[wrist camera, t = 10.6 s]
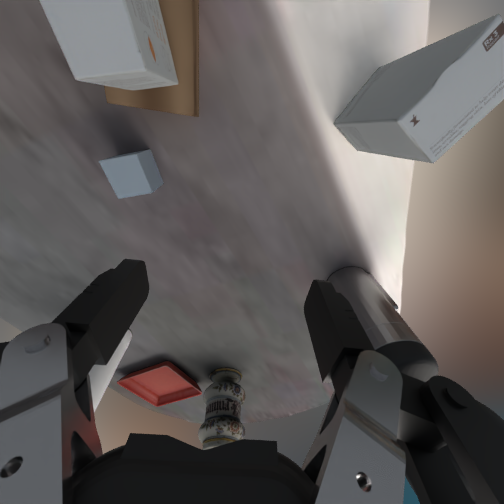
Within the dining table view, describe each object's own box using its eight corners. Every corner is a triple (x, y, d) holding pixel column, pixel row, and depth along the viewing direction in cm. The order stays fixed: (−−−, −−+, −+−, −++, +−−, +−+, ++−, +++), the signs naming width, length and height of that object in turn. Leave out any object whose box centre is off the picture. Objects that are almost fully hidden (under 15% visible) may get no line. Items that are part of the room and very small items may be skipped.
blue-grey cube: (150, 149, 31) (136, 154, 26) (163, 183, 33) (152, 192, 29) (118, 155, 31) (98, 161, 27) (133, 188, 34) (118, 198, 29)
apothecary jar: (219, 361, 61) (211, 441, 46) (252, 372, 65) (256, 450, 50) (199, 379, 66) (186, 457, 51) (231, 389, 70) (228, 464, 55)
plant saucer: (120, 371, 62) (114, 383, 60) (169, 354, 59) (165, 366, 56) (160, 396, 71) (156, 407, 69) (205, 382, 68) (203, 393, 65)
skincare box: (355, 150, 32) (429, 171, 19) (329, 122, 30) (394, 124, 17) (406, 96, 28) (535, 80, 16) (381, 59, 26) (508, 6, 14)
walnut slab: (199, -14, 23) (192, -37, 19) (199, 116, 29) (193, 116, 26) (101, -35, 22) (75, -64, 18) (123, 104, 28) (107, 102, 25)
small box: (96, -14, 20) (-17, -114, 11) (155, -22, 20) (87, -130, 11) (132, 92, 24) (72, 81, 15) (180, 86, 24) (146, 71, 15)
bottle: (125, 321, 50) (7, 527, 25) (137, 341, 54) (46, 534, 29) (92, 323, 50) (-60, 532, 25) (107, 343, 54) (-11, 538, 29)
